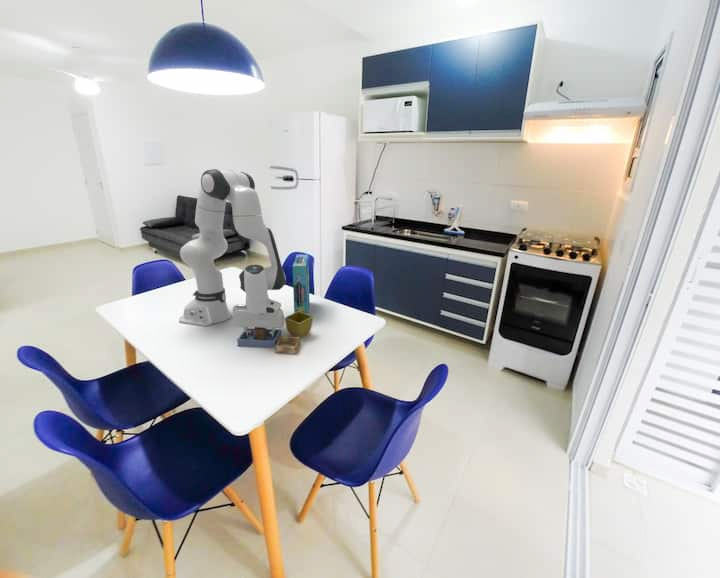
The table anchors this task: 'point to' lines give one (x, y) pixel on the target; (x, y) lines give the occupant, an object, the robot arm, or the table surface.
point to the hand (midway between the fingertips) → (260, 335)
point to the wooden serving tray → (287, 345)
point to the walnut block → (259, 333)
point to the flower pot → (298, 324)
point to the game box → (301, 283)
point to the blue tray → (250, 342)
